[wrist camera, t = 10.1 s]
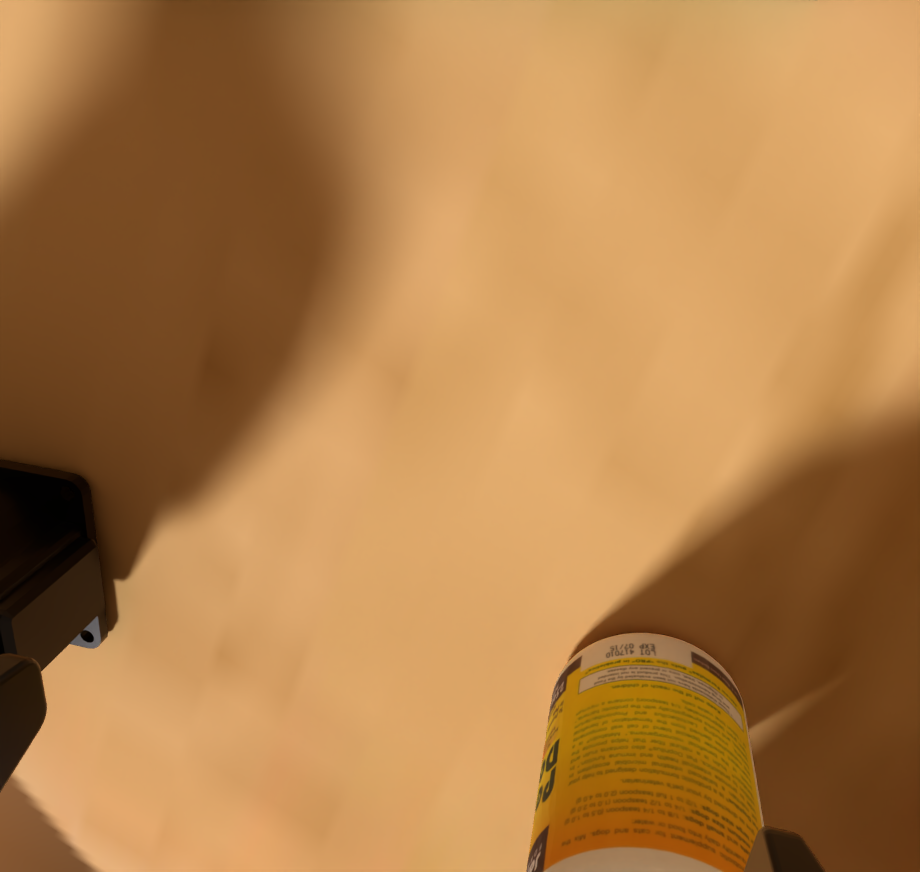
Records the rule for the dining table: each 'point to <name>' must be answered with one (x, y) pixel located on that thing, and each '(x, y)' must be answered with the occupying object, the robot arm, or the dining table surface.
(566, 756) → the supplement bottle
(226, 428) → the dining table surface
